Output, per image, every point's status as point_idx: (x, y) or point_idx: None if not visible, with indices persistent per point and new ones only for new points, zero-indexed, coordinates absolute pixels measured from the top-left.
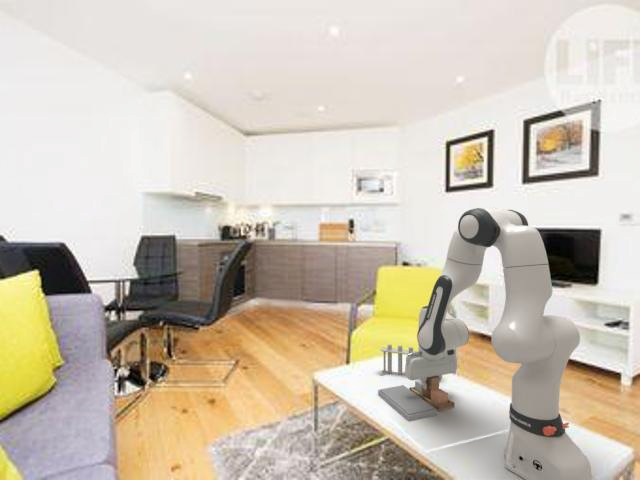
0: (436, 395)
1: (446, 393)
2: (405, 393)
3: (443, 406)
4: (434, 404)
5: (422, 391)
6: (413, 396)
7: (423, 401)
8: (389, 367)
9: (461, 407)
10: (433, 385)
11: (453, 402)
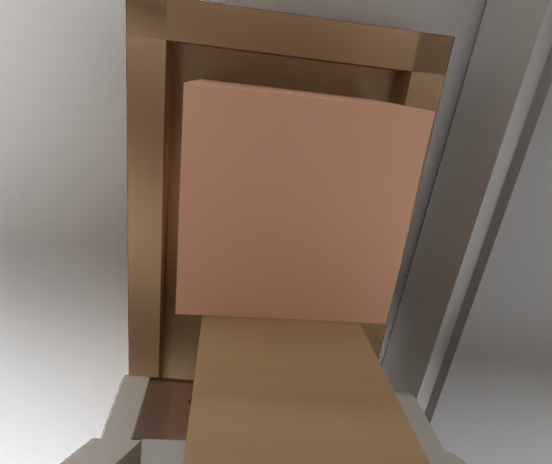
0: (407, 168)
1: (221, 87)
2: (513, 454)
3: (346, 23)
4: (435, 117)
5: None
6: (507, 373)
7: (525, 228)
8: None
9: (2, 2)
10: (352, 378)
11: (129, 7)
